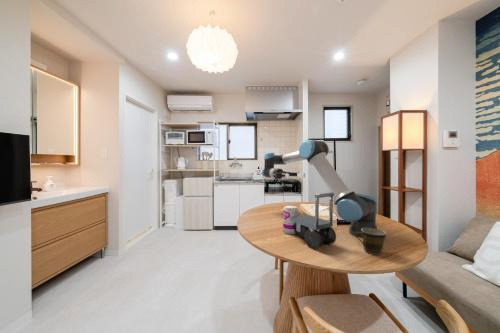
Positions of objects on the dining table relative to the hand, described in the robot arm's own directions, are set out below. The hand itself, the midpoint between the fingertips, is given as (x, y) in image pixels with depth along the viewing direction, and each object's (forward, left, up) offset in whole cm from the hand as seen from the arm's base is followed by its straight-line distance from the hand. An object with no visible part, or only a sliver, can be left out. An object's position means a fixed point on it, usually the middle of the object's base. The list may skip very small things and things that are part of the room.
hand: (296, 175), depth 139 cm
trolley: (-15, +24, -32) cm, 43 cm away
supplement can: (-2, +17, -32) cm, 36 cm away
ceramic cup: (-42, +23, -32) cm, 58 cm away
